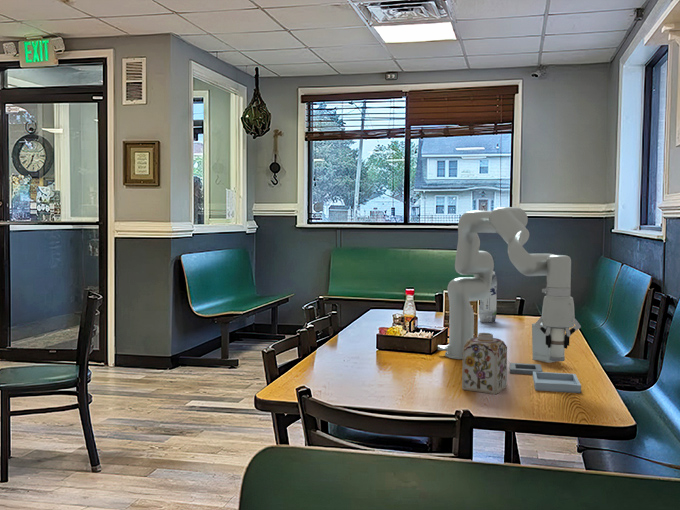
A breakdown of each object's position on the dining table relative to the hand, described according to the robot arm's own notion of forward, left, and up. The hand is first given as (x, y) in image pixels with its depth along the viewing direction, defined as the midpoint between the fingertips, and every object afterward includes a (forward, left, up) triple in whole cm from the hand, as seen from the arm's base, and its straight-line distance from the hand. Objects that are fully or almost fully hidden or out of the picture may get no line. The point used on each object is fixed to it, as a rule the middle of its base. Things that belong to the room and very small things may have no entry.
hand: (557, 346), depth 219 cm
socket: (-9, +18, -13) cm, 24 cm away
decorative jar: (-23, -10, -13) cm, 28 cm away
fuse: (0, 0, -4) cm, 4 cm away
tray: (0, 0, -13) cm, 13 cm away
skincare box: (-1, +38, -13) cm, 40 cm away
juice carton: (-24, +133, -13) cm, 136 cm away
